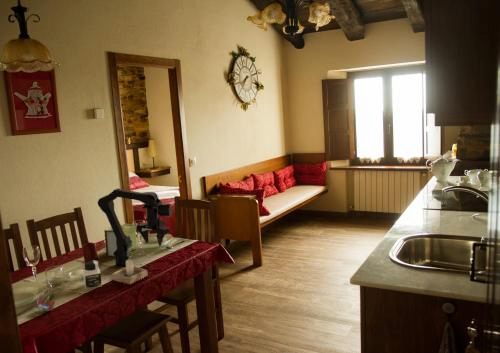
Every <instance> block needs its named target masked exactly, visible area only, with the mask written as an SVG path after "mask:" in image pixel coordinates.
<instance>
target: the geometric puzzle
mask: <svg viewBox="0 0 500 353" xmlns="http://www.w3.org/2000/svg"><path fill="white" fill-rule="evenodd" d="M45 296H46V297H45V298H44V296H39V297H38V299H37V300H36V306H37V308H38V309H40V308H42V310H41V314H43V313H44V312H45V311H46V310H50V311H53V309H54V307H55V304H56V301H55V300H54V299H53V297H51V298H52V300H50V296H52V295H51V294H49V295H45Z"/></svg>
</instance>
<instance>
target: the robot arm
mask: <svg viewBox="0 0 500 353" xmlns="http://www.w3.org/2000/svg"><path fill="white" fill-rule="evenodd" d="M117 198H121V199H122V198H123V199H127V200H133V201H134V200H135V201H139V202H141V203H142V204H144V205H143V206H142V207H141V208H142V209H145V211H146V212H145V213H146V217H145V219H144V221H146V223H145V222H143V223H140V224H137V225H136V232H138V233H140V236H141V237H142V238H143V239H144V242H145V243H146V244H148V243H149V232H150V231H151V232H156V236H155V237H156V239H157V245H158V246H162V244H163V240H164V238H165V236H166V235H168V234H169V233H170V228H169V227H168V226H167V227H166V222H167V220H163V219H160V217H163V218H164V217H170V218H171V217H172V214H173V208H172V205H171V203H163V202H162V201H161V200H160V198H159V196H158V194H157V192H154V191H147V192H145V191H144V192H141V191H135V190H129V189H122V188H115V189H114V190H112V191H111V192H110V193H108V194H106V195H103V196H102V197H100V198H99V199H98V201H97V206H98V207H99V209H100V210H101V211H102V212H103V213H104V214H105V216H106V218H107V220H108V223H109V225H110V228H111V227H112V230H113V232H114V234H115V237H116V245H117V250H116V251H115V252H114V253H113V254H114V256H115V257H114V256H113V257H114V259H115V265H114V267H115V268H116V267H117V268H118V267H119V268H121V267H123V268H126V260H131V259H130V255H129V253H127V252H128V251H129V249H130V248H131V247H132V241H131V239H130V236H128V237H127V236H126V235H125V234H124V232H123V230H122V227H121V225H120V224H121V223H120V221H119V219H118V216H117V214H116V210H115V203H114V200H116V199H117Z"/></svg>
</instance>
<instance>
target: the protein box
mask: <svg viewBox="0 0 500 353" xmlns="http://www.w3.org/2000/svg"><path fill="white" fill-rule="evenodd" d="M120 225H121V227H122V230H123V232H124V234H125V235H126V236H127V237H128V236H130V239H131V241H132V247H131V248H133V247H136V246H137V227H136V224H131V223H124V222H121V223H120ZM104 243H105V255H106V256H109V257H114V258H115V256H114V254H113V253H114V252H115V251H116V250H117V245H116V237H115V234H114V232H113V230H112V227H111V226H110V227H108V228H105V229H104ZM137 247H138V246H137ZM131 248H130V249H131ZM130 249H129V250H130Z"/></svg>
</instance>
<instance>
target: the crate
mask: <svg viewBox="0 0 500 353" xmlns="http://www.w3.org/2000/svg"><path fill="white" fill-rule="evenodd" d="M148 272H149V271H148V269H146V268H140V267H136V266H134V276H132V277H127V273H126V267H123V268H122V269H120V270H117V271H115V272H113V273H112V280H113V281H116V282H118V283H119V282H120V283H122V282H123V284H126V283H127V285H129V284H130V285H132V283H133V284H135V283H136V281H137V282H138V280H139V281H141V280H143V279H145V278H147V277H148V276H149V275H148ZM146 276H147V277H146ZM144 277H145V278H144ZM142 278H143V279H142ZM140 279H141V280H140ZM134 282H135V283H134Z"/></svg>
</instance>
